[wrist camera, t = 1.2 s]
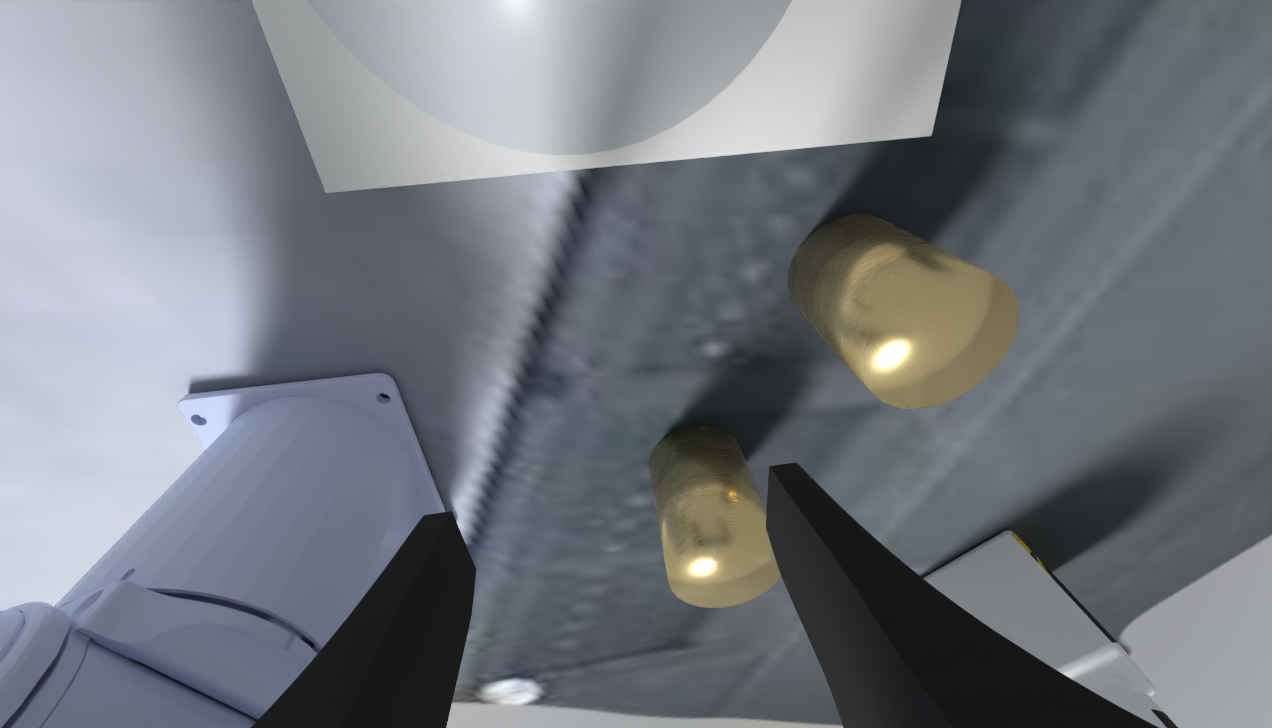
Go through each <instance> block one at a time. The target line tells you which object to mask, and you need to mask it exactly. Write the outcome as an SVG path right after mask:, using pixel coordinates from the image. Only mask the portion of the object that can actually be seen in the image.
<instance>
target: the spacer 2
mask: <svg viewBox="0 0 1272 728" xmlns="http://www.w3.org/2000/svg"><path fill="white" fill-rule="evenodd" d="M788 290H789V294H790V298H791V300H792V302H793V304H794V306H795V307H796V308H797V310H798V311H799V312H800V313H801V314H802V315H803V316H804V317H805V318H806V320H807V321H808V322H809V323H810V324H811V325H812V326H813V327H814V328H815V330H816V331H817V332H818V333H819V334H820V335H821V336H822V337H823V338H824V340H825V341H826V342H827V343H828V344H829V345H830V346H831V347H832V348H833V349H834V351H835V352H836V353H837V354H838V355H839V356H840V357H841V358H842V359H843V361H844V362H845V363H846V364H847V365H848V366H849V367H850V368H851V369H852V371H853V372H854V373H855V374H856V375H857V376H858V377H859V378H860V379H861V381H862V382H863V383H864V384H865V385H866V386H867V387H868V388H869V389H870V391H871V392H872V393H873V394H874V395H875V396H876V397H877V398H879V399H880V400H881V401H883V402H885V403H887V404H889V405H891V406H894V407H898V408H904V409H920V408H927V407H932V406H936V405H940V404H943V403H945V402H948V401H951V400H953V399H955V398H957V397H959V396H961V395H963V394H964V393H966V392H968V391H969V390H971V389H972V388H974V387H975V386H977V385H978V384H979V383H980V382H981V381H983V380H984V379H985V378H986V377H987V376H988V375H989V374H990V373H991V372H992V371H993V370H994V369H995V368H996V367H997V366H998V365H999V363H1000V362H1001V361H1002V359H1003V358H1004V357H1005V355H1006V354H1007V352H1008V350H1009V348H1010V347H1011V345H1012V342H1013V340H1014V338H1015V335H1016V332H1017V328H1018V323H1019V306H1018V301H1017V299H1016V296H1015V294H1014V292H1013V291H1012V289H1011V288H1010V287H1009V286H1008V285H1007V283H1006V282H1004V281H1003V280H1001V279H1000V278H998V277H996V276H994V275H992V274H990V273H988V272H986V271H984V270H983V269H981V268H979V267H977V266H975V265H973V264H971V263H969V262H967V261H965V260H963V259H961V258H959V257H957V256H955V255H953V254H951V253H949V252H947V251H945V250H943V249H941V248H939V247H937V246H935V245H933V244H931V243H929V242H927V241H925V240H923V239H921V238H919V237H917V236H915V235H913V234H911V233H909V232H907V231H905V230H903V229H901V228H899V227H897V226H895V225H893V224H891V223H889V222H887V221H885V220H883V219H881V218H879V217H877V216H874V215H870V214H864V213H853V214H847V215H843V216H840V217H837V218H834V219H832V220H830V221H828V222H826V223H825V224H823V225H821V226H820V227H819V228H817V229H816V230H815V231H814V232H813V233H811V234H810V235H809V236H808V237H807V238H806V240H805V241H804V242H803V243H802V245H801V246H800V247H799V249H798V250H797V252H796V254H795V256H794V258H793V260H792V263H791V266H790V270H789V275H788Z"/></svg>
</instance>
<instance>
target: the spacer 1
mask: <svg viewBox="0 0 1272 728" xmlns="http://www.w3.org/2000/svg"><path fill="white" fill-rule="evenodd" d="M649 473H650V479H651V485H652V490H653V496H654V502H655V508H656V513H657V519H658V525H659V530H660V536H661V542H662V547H663V553H664V559H665V564H666V570H667V576H668V581H669V585H670V588H671V590H672V591H673V593H674V594H675V595H676V596H677V597H678V598H680V599H681V600H683V601H685V602H687V603H689V604H692V605H695V606H700V607H708V608H719V607H728V606H733V605H737V604H741V603H744V602H747V601H749V600H752V599H754V598H756V597H758V596H760V595H761V594H763V593H764V592H766V591H767V590H768V589H770V588H771V587H772V586H773V585H774V584H775V583H776V582H777V581H778V579H779V578H780V577H781V574H780V571H779V569H778V565H777V562H776V559H775V556H774V553H773V550H772V547H771V543H770V540H769V537H768V533H767V530H766V514H767V510H766V507H765V505H764V503H763V500H762V498H761V496H760V493H759V491H758V489H757V486H756V484H755V481H754V479H753V477H752V474H751V472H750V470H749V467H748V465H747V463H746V460H745V458H744V456H743V453H742V451H741V449H740V446H739V444H738V442H737V441H736V439H735V438H734V437H733V436H732V435H731V434H730V433H728V432H727V431H725V430H723V429H721V428H718V427H714V426H708V425H696V426H689V427H685V428H682V429H679V430H677V431H675V432H673V433H671V434H669V435H668V436H666V437H665V438H664V439H662V440H661V441H660V442H659V443H658V444H657V446H656V447H655V448H654V450H653V452H652V454H651V456H650V459H649Z"/></svg>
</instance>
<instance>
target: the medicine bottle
mask: <svg viewBox="0 0 1272 728" xmlns="http://www.w3.org/2000/svg"><path fill="white" fill-rule="evenodd" d="M923 579H924V580H925V581H927V582H928V583H929V584H931V585H932V586H933V587H934V588H936V589H937V590H938V591H940V592H941V593H942V594H944V595H945V596H946V597H948V598H949V599H951V600H952V601H953V602H955V603H956V604H957V605H959V606H960V607H961V608H963V609H964V610H966V611H967V612H968V613H970V614H971V615H973V616H974V617H976V618H977V619H979V620H980V621H981V622H983V623H984V624H986V625H987V626H989V627H990V628H991V629H993V630H994V631H996V632H997V633H999V634H1001V635H1002V636H1004V637H1005V638H1007V639H1008V640H1010V641H1012V642H1013V643H1015V644H1016V645H1018V646H1019V647H1021V648H1023V649H1024V650H1026V651H1027V652H1029V653H1030V654H1032V655H1033V656H1035V657H1037V658H1038V659H1040V660H1041V661H1043V662H1044V663H1046V664H1048V665H1049V666H1051V667H1052V668H1054V669H1056V670H1057V671H1059V672H1060V673H1062V674H1064V675H1065V676H1067V677H1069V678H1071V679H1072V680H1074V681H1076V682H1078V683H1079V684H1081V685H1083V686H1084V687H1086V688H1088V689H1090V690H1091V691H1093V692H1095V693H1096V694H1098V695H1100V696H1102V697H1103V698H1105V699H1107V700H1108V701H1110V702H1112V703H1114V704H1116V705H1117V706H1119V707H1121V708H1123V709H1125V710H1127V711H1128V712H1130V713H1132V714H1134V715H1136V716H1138V717H1140V718H1142V719H1144V720H1145V721H1147V722H1149V723H1151V724H1153V725H1155V726H1157V727H1159V728H1178V727H1177V726H1176V725H1175V724H1174V723H1173V722H1172V721H1171V720H1170V719H1169V717H1168V716H1167V715H1166V714H1165V713H1164V712H1163V711H1162V710H1161V709H1160V708H1159V706H1158V705H1157V704H1156V703H1155V702H1154V701H1153V700H1152V699H1151V698H1150V696H1151V695H1154V694H1155V689H1156V688H1155V686H1154V685H1153V683H1152V682H1151V681H1150V680H1149V679H1148V677H1147V676H1146V675H1145V674H1144V673H1143V672H1142V671H1141V669H1140V668H1139V667H1138V666H1137V665H1136V663H1135V662H1134V661H1133V660H1132V659H1131V658H1130V657H1129V655H1128V654H1127V653H1126V652H1125V651H1124V650H1123V648H1122V647H1121V646H1120V645H1119V644H1118V643H1117V642H1116V640H1115V639H1114V638H1113V637H1112V636H1111V635H1110V634H1109V633H1108V632H1107V631H1106V630H1105V629H1104V628H1103V627H1102V626H1101V624H1100V623H1099V622H1098V621H1097V620H1096V619H1095V618H1094V617H1093V616H1092V615H1091V614H1090V613H1089V612H1088V611H1087V610H1086V608H1085V607H1084V606H1083V605H1082V604H1081V603H1080V602H1079V601H1078V600H1077V599H1076V598H1075V597H1074V596H1073V595H1072V594H1071V592H1070V591H1069V590H1068V589H1067V588H1066V587H1065V586H1064V585H1063V584H1062V583H1061V582H1060V581H1059V580H1058V579H1057V578H1056V576H1055V575H1054V574H1053V573H1052V572H1051V571H1050V570H1049V569H1048V568H1047V567H1046V566H1045V565H1044V564H1043V563H1042V562H1041V560H1040V559H1039V558H1038V557H1037V556H1036V555H1035V554H1034V553H1033V552H1032V551H1031V550H1030V549H1029V548H1028V547H1027V546H1026V544H1025V543H1024V542H1023V541H1022V540H1021V539H1020V538H1019V537H1018V536H1017V535H1016V534H1015V533H1014V532H1012V531H1009V530H1006V531H1003V532H1002V533H1000V534H998V535H996V536H995V537H993V538H991V539H989V540H988V541H986V542H984V543H983V544H981V545H979V546H977V547H976V548H974V549H972V550H970V551H969V552H967V553H965V554H964V555H962V556H960V557H958V558H957V559H955V560H953V561H951V562H950V563H948V564H946V565H945V566H943V567H941V568H939V569H938V570H936V571H934V572H932V573H931V574H929V575H927V576H926V577H924V578H923Z"/></svg>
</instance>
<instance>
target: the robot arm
mask: <svg viewBox="0 0 1272 728" xmlns="http://www.w3.org/2000/svg"><path fill="white" fill-rule="evenodd" d="M380 393H383V394H386V395H388V396H389V397H390V398H389V399H387V398H384V397H382V396H381V395H380ZM177 407H178V409H179V411H180V413H181V414H182V416H183V417H184V418H185V420H186V421H187V423H188V424H189V426H190V427H191V429H192V430H193V432H194V433H195V434H196V436H197V437H198V439H199V440H200V442H201V443H202V445H203V446H204V447H205V449H206V450H205V451H204V452H203V453H202V454H201V455H200V456H199V458H198V459H197V460H196V461H195V462H194V463H193V464H192V465H191V466H190V467H189V468H188V469H187V470H186V471H185V472H184V473H183V474H182V475H181V476H180V477H179V478H178V479H177V480H176V481H175V482H174V483H173V484H172V485H171V486H170V487H169V489H168V490H167V491H166V492H165V493H164V494H163V495H162V496H161V497H160V498H159V499H158V500H157V501H156V502H155V503H154V504H153V505H152V506H151V507H150V508H149V509H148V510H147V511H146V512H145V513H144V514H143V515H142V516H141V517H140V519H139V520H138V521H137V522H136V523H135V524H134V525H133V526H132V527H131V528H130V529H129V530H128V531H127V532H126V533H125V534H124V535H123V536H122V537H121V538H120V539H119V540H118V541H117V542H116V543H115V544H114V545H113V546H112V547H111V549H110V550H109V551H108V552H107V553H106V554H105V555H104V556H103V557H102V558H101V559H100V560H99V561H98V562H97V563H96V564H95V565H94V566H93V567H92V568H91V569H90V570H89V571H88V572H87V573H86V574H85V575H84V576H83V577H82V578H81V580H80V581H79V582H78V583H77V584H76V585H75V586H74V587H73V588H72V589H71V590H70V591H69V592H68V593H67V594H66V595H65V596H64V597H63V598H62V599H61V600H60V601H59V602H58V603H57V604H56V605H55V606H54V607H53V606H51V605H49V604H47V603H43V602H30V603H25V604H22V605H19V606H15V607H12V608H10V609H8V610H5V611H0V728H446V725H447V721H448V716H449V712H450V708H451V704H452V699H453V695H454V691H455V686H456V682H457V678H458V673H459V669H460V664H461V660H462V656H463V651H464V647H465V642H466V638H467V633H468V629H469V624H470V619H471V614H472V605H473V597H474V587H475V576H476V568H475V565H474V563H473V561H472V558H471V556H470V554H469V551H468V549H467V547H466V544H465V542H464V540H463V537H462V535H461V533H460V530H459V528H458V525H457V523H456V521H455V518H454V516H453V514H452V511H449V512H446V511H445V509H444V506H443V504H442V501H441V499H440V496H439V494H438V491H437V488H436V486H435V483H434V481H433V478H432V476H431V473H430V471H429V468H428V465H427V463H426V460H425V458H424V455H423V453H422V450H421V448H420V445H419V442H418V440H417V437H416V435H415V432H414V430H413V427H412V425H411V422H410V419H409V417H408V414H407V412H406V409H405V407H404V404H403V402H402V399H401V396H400V394H399V391H398V389H397V386H396V384H395V381H394V380H393V378H392V377H390V376H389V375H387V374H384V373H371V374H362V375H353V376H344V377H336V378H327V379H318V380H309V381H300V382H291V383H282V384H273V385H264V386H256V387H247V388H238V389H229V390H220V391H211V392H202V393H193V394H188V395H186V396H185V397H183V398H182V399H181V400H180V401H179V402H178V405H177ZM199 415H201V416H203V417H204V418H205V419H204V418H201V417H200V416H199ZM766 530H767V533H768V537H769V540H770V543H771V547H772V550H773V553H774V556H775V559H776V562H777V565H778V569H779V571H780V574H781V576H782V578H783V581H784V583H785V585H786V588H787V590H788V592H789V595H790V597H791V599H792V601H793V604H794V606H795V608H796V611H797V613H798V615H799V617H800V620H801V622H802V624H803V626H804V629H805V631H806V633H807V635H808V638H809V640H810V642H811V645H812V647H813V649H814V651H815V654H816V656H817V658H818V660H819V663H820V665H821V667H822V669H823V672H824V674H825V677H826V679H827V682H828V685H829V687H830V690H831V692H832V695H833V698H834V701H835V703H836V706H837V709H838V712H839V715H840V718H841V721H842V724H843V727H844V728H1159V727H1157V726H1155V725H1153V724H1151V723H1149V722H1147V721H1145V720H1144V719H1142V718H1140V717H1138V716H1136V715H1134V714H1132V713H1130V712H1128V711H1127V710H1125V709H1123V708H1121V707H1119V706H1117V705H1116V704H1114V703H1112V702H1110V701H1108V700H1107V699H1105V698H1103V697H1102V696H1100V695H1098V694H1096V693H1095V692H1093V691H1091V690H1090V689H1088V688H1086V687H1084V686H1083V685H1081V684H1079V683H1078V682H1076V681H1074V680H1072V679H1071V678H1069V677H1067V676H1065V675H1064V674H1062V673H1060V672H1059V671H1057V670H1056V669H1054V668H1052V667H1051V666H1049V665H1048V664H1046V663H1044V662H1043V661H1041V660H1040V659H1038V658H1037V657H1035V656H1033V655H1032V654H1030V653H1029V652H1027V651H1026V650H1024V649H1023V648H1021V647H1019V646H1018V645H1016V644H1015V643H1013V642H1012V641H1010V640H1008V639H1007V638H1005V637H1004V636H1002V635H1001V634H999V633H997V632H996V631H994V630H993V629H991V628H990V627H989V626H987V625H986V624H984V623H983V622H981V621H980V620H979V619H977V618H976V617H974V616H973V615H971V614H970V613H968V612H967V611H966V610H964V609H963V608H961V607H960V606H959V605H957V604H956V603H955V602H953V601H952V600H951V599H949V598H948V597H946V596H945V595H944V594H942V593H941V592H940V591H938V590H937V589H936V588H934V587H933V586H932V585H931V584H929V583H928V582H927V581H925V580H924V579H923V578H922V577H920V576H919V575H918V574H917V573H915V572H914V571H913V570H912V569H910V568H909V567H908V566H907V565H906V564H904V563H903V562H902V561H901V560H900V559H898V558H897V557H896V556H895V555H894V554H892V553H891V552H890V551H889V550H888V549H887V548H885V547H884V546H883V545H882V544H881V543H880V542H879V541H877V540H876V539H875V538H874V537H873V536H872V535H871V534H870V533H869V532H867V531H866V530H865V529H864V528H863V527H862V526H861V525H860V524H859V523H858V522H856V521H855V520H854V519H853V518H852V517H851V516H850V515H849V514H848V513H847V512H846V511H845V510H844V509H843V508H841V507H840V506H839V505H838V504H837V503H836V502H835V501H834V500H833V499H832V498H831V497H830V496H829V495H828V494H827V493H826V492H825V491H824V490H823V489H822V488H821V487H820V486H819V485H818V484H817V483H816V482H815V481H814V480H813V479H812V478H811V477H810V476H809V475H808V474H807V473H806V472H805V471H804V470H803V469H802V468H801V466H799V465H798V464H797V463H790V464H783V465H776V466H769V480H768V497H767V514H766Z"/></svg>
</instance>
